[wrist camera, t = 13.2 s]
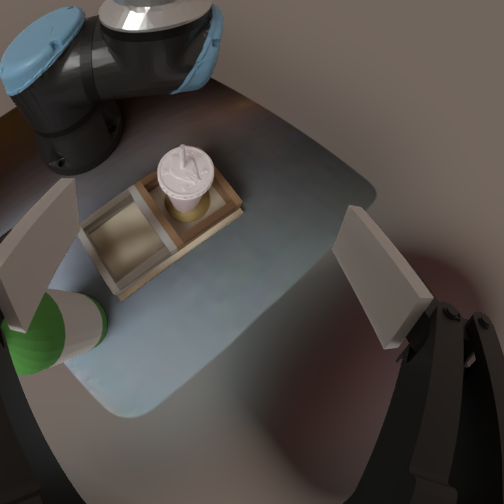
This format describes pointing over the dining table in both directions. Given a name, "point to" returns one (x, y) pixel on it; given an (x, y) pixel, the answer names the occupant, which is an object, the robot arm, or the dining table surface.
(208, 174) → the smoothie
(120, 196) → the board
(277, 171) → the dining table surface
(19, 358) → the wine bottle
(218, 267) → the dining table surface
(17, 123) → the dining table surface
